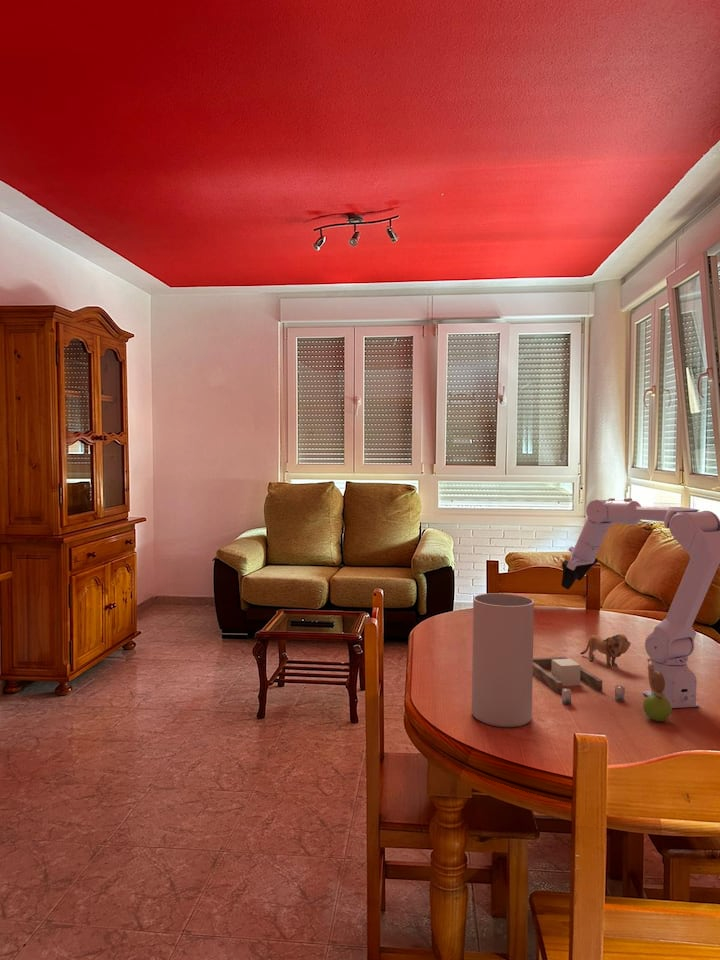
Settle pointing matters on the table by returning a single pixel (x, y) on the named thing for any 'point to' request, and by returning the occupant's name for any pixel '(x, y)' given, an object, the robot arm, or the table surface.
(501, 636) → the cylinder vase
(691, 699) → the robot arm
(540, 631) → the table surface
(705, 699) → the table surface
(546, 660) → the stall
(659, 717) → the snail figurine
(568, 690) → the posts
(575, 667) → the cube
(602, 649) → the lion figurine
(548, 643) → the table surface
